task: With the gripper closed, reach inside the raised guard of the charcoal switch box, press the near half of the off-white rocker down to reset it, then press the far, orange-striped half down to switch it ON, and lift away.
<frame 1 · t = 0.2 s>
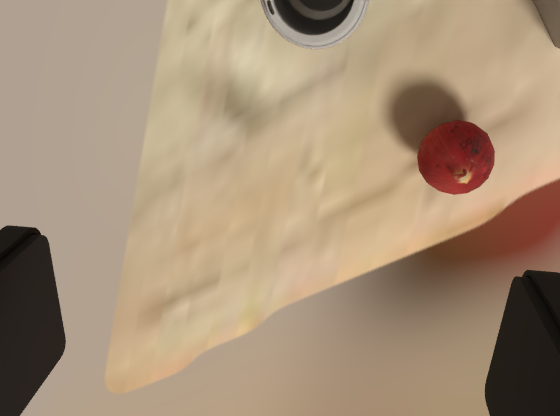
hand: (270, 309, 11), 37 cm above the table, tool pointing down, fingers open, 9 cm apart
onion: (447, 142, 46), on the table
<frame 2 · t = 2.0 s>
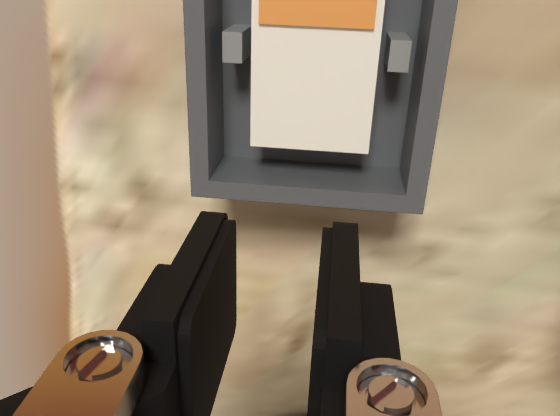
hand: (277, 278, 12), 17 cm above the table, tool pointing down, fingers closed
switch box: (320, 33, 26), on the table
rocker: (315, 50, 21), point 5 cm above the table, hinge at 0.0°
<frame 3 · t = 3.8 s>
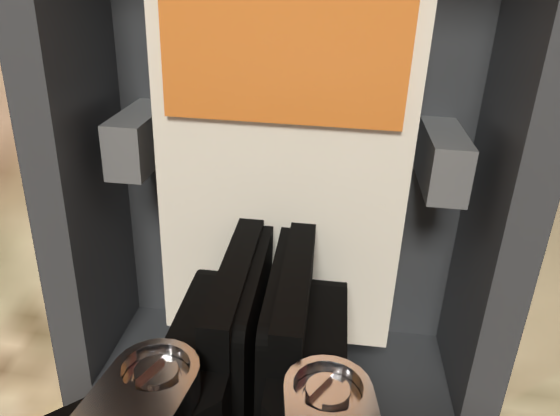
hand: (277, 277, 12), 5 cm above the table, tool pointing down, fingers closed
switch box: (302, 102, 15), on the table
rocker: (283, 162, 11), point 5 cm above the table, hinge at -0.2°, touching gripper
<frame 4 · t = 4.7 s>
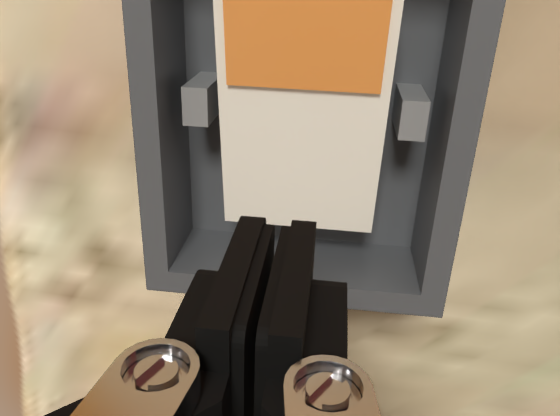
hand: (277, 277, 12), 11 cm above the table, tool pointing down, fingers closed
switch box: (312, 77, 21), on the table
rocker: (303, 111, 16), point 5 cm above the table, hinge at -9.6°
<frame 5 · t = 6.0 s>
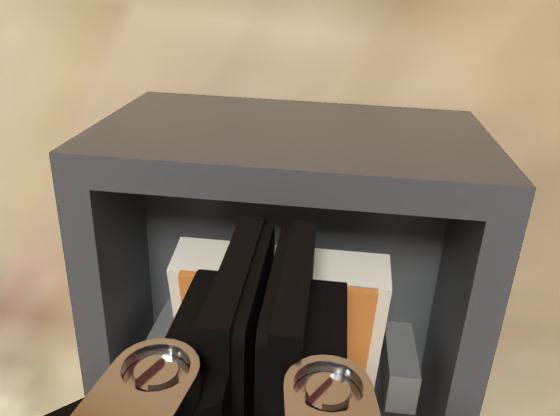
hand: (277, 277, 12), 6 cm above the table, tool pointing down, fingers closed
switch box: (294, 276, 19), on the table
rocker: (278, 374, 15), point 5 cm above the table, hinge at -11.9°, touching gripper
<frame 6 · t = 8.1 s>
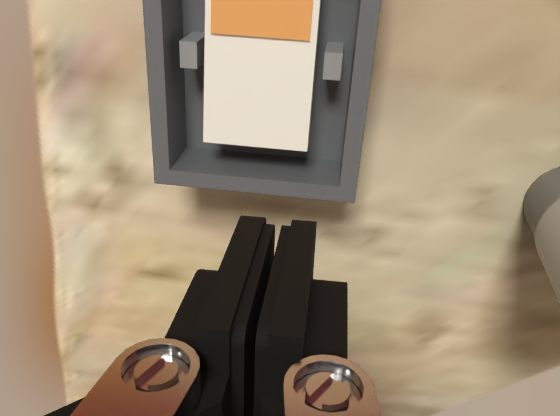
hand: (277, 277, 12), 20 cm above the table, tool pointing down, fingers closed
switch box: (274, 38, 29), on the table
rocker: (260, 59, 25), point 5 cm above the table, hinge at 7.3°
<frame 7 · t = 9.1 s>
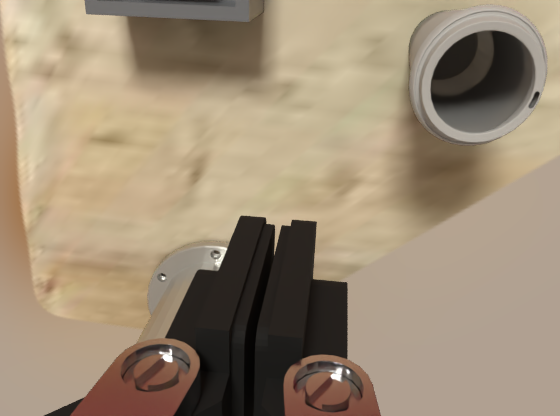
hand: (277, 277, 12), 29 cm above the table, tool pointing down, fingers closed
cup: (442, 45, 37), on the table
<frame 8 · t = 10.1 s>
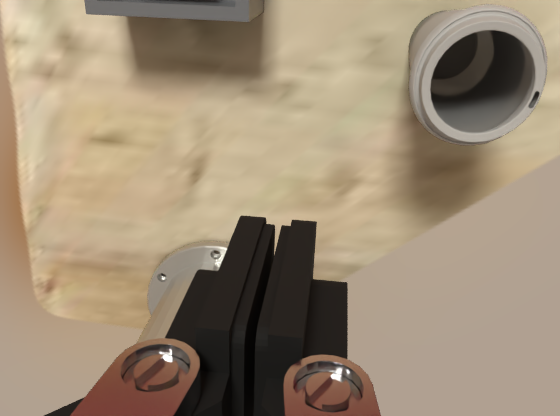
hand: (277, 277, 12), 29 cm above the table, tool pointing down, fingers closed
cup: (442, 45, 37), on the table
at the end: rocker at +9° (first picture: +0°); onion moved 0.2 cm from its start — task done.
